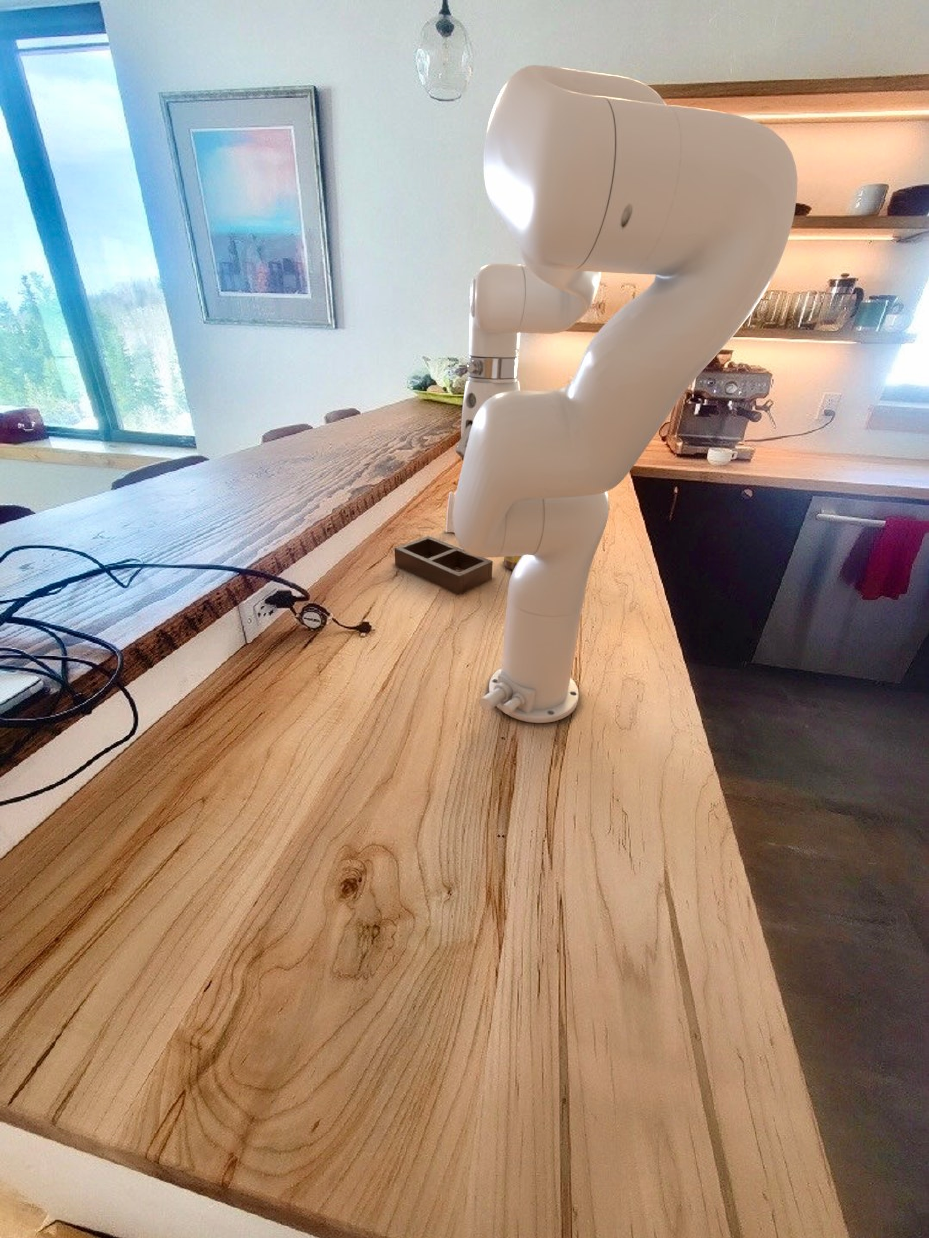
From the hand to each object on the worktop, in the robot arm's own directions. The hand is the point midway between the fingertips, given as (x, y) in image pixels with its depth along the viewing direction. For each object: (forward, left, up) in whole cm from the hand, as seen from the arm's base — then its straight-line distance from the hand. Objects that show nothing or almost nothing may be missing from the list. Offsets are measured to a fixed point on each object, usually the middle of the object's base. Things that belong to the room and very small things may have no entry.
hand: (487, 488), depth 85 cm
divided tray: (+3, +13, -21) cm, 25 cm away
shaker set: (+24, +24, -21) cm, 40 cm away
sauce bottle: (+17, +4, -21) cm, 27 cm away
